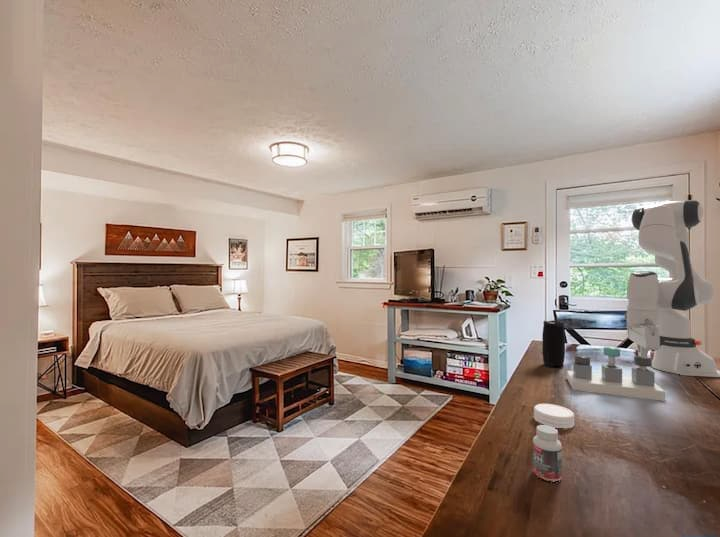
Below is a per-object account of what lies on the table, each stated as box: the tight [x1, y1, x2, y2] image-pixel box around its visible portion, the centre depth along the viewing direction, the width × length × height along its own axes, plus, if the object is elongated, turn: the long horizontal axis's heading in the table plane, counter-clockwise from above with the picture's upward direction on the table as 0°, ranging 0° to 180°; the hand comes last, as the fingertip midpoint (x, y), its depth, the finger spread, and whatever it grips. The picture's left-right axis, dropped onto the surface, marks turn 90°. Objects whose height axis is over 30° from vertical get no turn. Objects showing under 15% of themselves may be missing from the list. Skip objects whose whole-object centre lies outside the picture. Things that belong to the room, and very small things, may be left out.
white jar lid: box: [533, 403, 575, 430], centre depth 99 cm, size 10×10×4 cm
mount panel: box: [566, 360, 666, 402], centre depth 126 cm, size 26×14×8 cm, turn 67°
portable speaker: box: [541, 320, 566, 368], centre depth 155 cm, size 9×9×20 cm
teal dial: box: [603, 346, 621, 367], centre depth 126 cm, size 5×5×7 cm
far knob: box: [574, 354, 591, 365], centre depth 129 cm, size 5×5×6 cm
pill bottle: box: [532, 424, 563, 481], centre depth 73 cm, size 5×5×10 cm
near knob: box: [633, 355, 653, 371], centre depth 122 cm, size 5×5×6 cm
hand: (642, 357), depth 122 cm, fingers closed, pressing on near knob
